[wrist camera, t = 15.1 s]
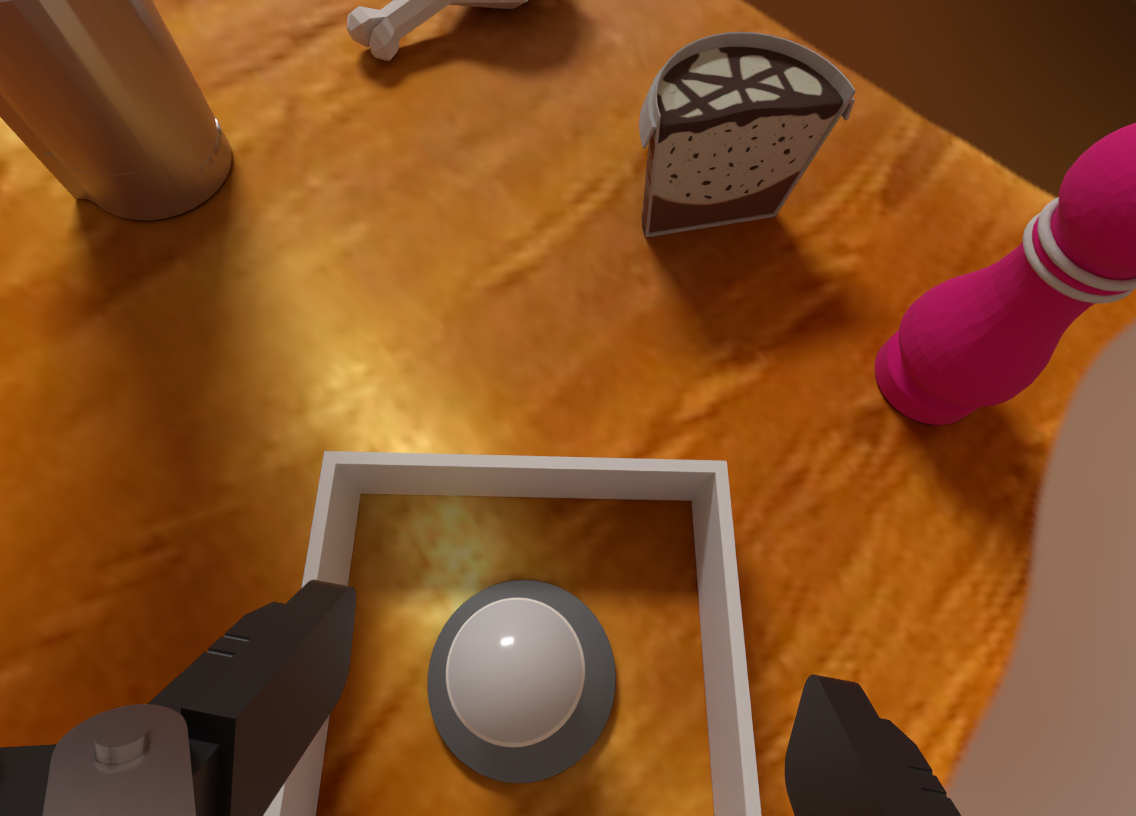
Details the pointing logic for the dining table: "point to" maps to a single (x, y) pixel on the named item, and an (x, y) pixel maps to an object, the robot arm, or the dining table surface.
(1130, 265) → the pepper mill
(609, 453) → the dining table surface
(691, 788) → the dining table surface
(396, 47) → the chicken leg
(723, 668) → the grey square frame
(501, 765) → the coaster
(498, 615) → the sugar shaker
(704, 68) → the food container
